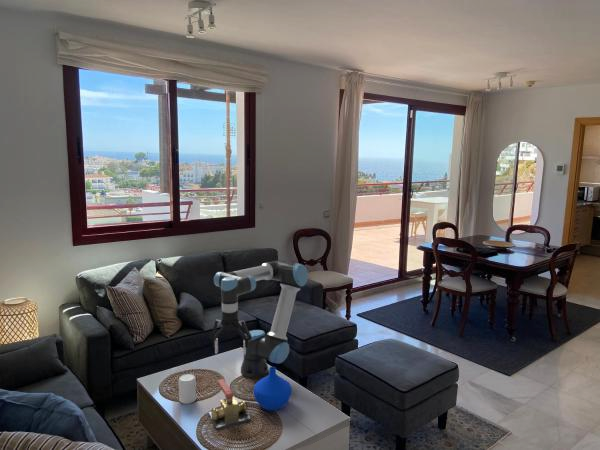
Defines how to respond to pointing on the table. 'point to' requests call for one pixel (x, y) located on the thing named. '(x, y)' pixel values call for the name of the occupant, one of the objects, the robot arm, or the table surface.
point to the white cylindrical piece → (187, 388)
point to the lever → (225, 388)
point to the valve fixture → (229, 413)
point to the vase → (272, 391)
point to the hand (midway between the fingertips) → (230, 353)
